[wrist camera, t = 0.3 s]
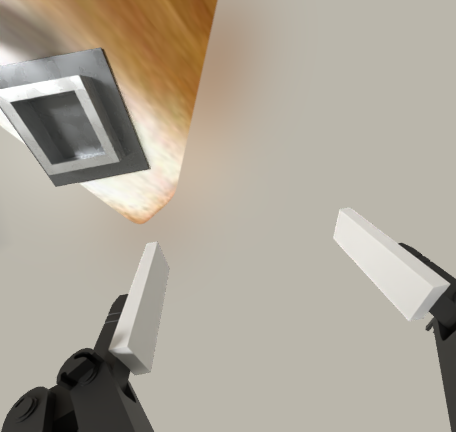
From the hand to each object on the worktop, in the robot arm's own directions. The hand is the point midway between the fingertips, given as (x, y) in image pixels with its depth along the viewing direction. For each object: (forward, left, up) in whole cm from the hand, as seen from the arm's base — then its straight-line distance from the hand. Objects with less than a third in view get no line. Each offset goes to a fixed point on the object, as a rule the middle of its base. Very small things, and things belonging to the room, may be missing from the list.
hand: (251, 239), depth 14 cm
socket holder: (-8, -23, -28) cm, 37 cm away
